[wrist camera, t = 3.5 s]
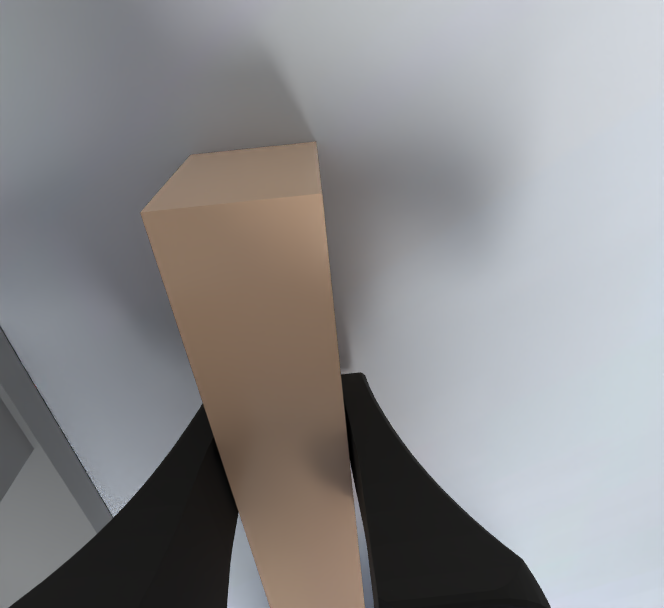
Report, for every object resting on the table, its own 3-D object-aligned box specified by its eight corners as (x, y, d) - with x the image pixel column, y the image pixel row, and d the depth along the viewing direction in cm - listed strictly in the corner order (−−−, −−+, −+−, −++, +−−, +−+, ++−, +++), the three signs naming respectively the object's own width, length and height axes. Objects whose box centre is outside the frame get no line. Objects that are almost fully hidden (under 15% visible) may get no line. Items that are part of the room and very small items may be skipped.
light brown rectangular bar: (353, 500, 18) (364, 609, 15) (279, 508, 18) (274, 619, 15) (316, 140, 11) (322, 193, 7) (191, 153, 11) (139, 212, 7)
